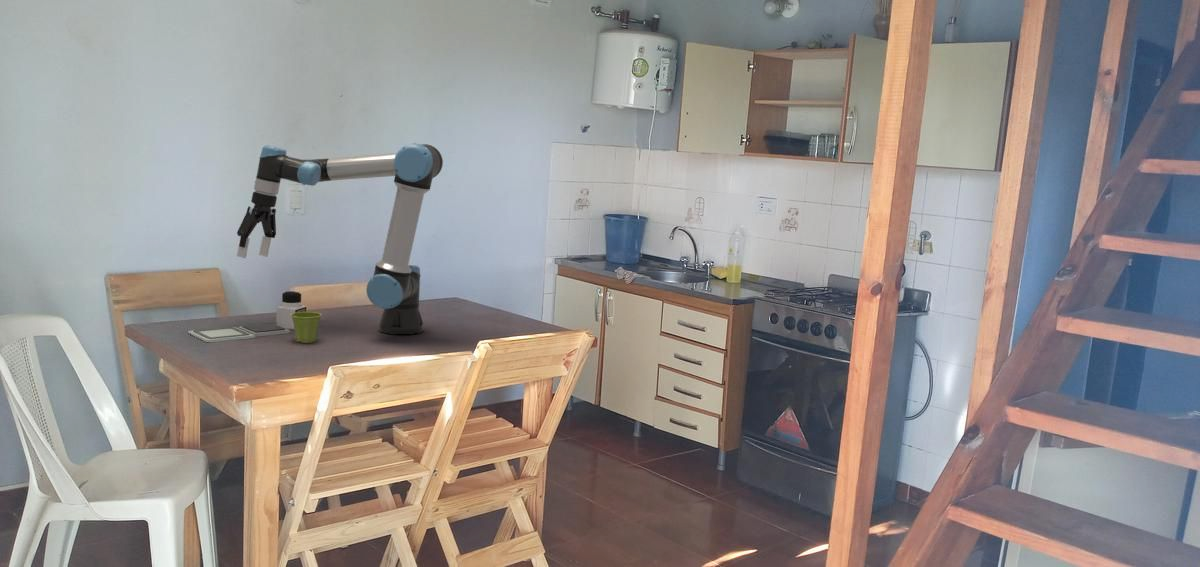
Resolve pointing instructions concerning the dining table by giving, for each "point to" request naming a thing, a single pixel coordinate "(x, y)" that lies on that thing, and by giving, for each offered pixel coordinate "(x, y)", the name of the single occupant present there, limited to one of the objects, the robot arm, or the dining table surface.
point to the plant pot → (306, 326)
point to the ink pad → (264, 329)
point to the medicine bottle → (289, 309)
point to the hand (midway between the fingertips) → (252, 256)
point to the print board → (221, 334)
